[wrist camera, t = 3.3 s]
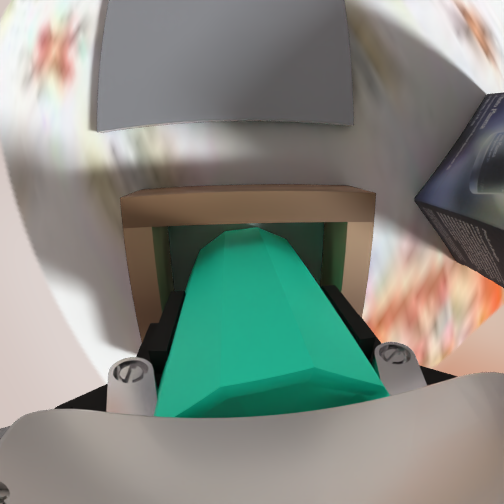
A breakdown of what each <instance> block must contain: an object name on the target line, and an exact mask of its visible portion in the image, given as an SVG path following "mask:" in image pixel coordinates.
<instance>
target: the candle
mask: <svg viewBox="0 0 504 504" xmlns="http://www.w3.org/2000/svg"><path fill="white" fill-rule="evenodd" d="M185 293H186V295H185V299H184V302H183V306H182V309H181V313H180V316H179V320H178V324H177V327H176V331H175V335H174V338H173V342H172V346H171V349H170V352H169V356H168V359H167V362H166V365H165V367H164V370H163V373H162V377H161V381H160V384H159V388H158V398H157V404H156V408H155V412H154V416H158V417H180V418H231V417H253V416H268V415H279V414H289V413H298V412H306V411H314V410H321V409H327V408H333V407H339V406H345V405H350V404H355V403H360V402H365V401H370V400H374V399H379V398H383V397H388V396H390V394H389V393H388V391H387V389H386V388H385V386H384V385H383V383H382V381H381V380H380V378H379V377H378V375H377V373H376V372H375V370H374V369H373V367H372V365H371V364H370V362H369V361H368V359H367V358H366V356H365V354H364V353H363V351H362V350H361V348H360V347H359V345H358V344H357V342H356V341H355V339H354V338H353V336H352V335H351V333H350V332H349V330H348V329H347V327H346V326H345V324H344V323H343V321H342V319H341V318H340V316H339V315H338V313H337V312H336V310H335V309H334V307H333V306H332V304H331V303H330V301H329V300H328V298H327V297H326V296H325V294H324V293H323V291H322V290H321V288H320V286H319V285H318V284H317V282H316V281H315V279H314V278H313V276H312V275H311V273H310V272H309V270H308V269H307V268H306V266H305V265H304V263H303V262H302V260H301V259H300V258H299V256H298V255H297V253H296V252H295V250H294V249H293V248H292V246H291V245H290V243H289V242H288V241H287V239H285V238H282V237H280V236H277V235H275V234H273V233H270V232H268V231H266V230H263V229H261V228H258V227H254V228H246V229H238V230H230V231H225V232H223V233H222V234H221V235H219V236H218V237H217V238H215V239H214V240H213V241H211V242H210V243H209V244H207V245H206V246H205V247H203V248H202V249H201V250H200V251H199V254H198V256H197V259H196V261H195V264H194V266H193V269H192V271H191V274H190V277H189V280H188V283H187V286H186V289H185Z"/></svg>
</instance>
